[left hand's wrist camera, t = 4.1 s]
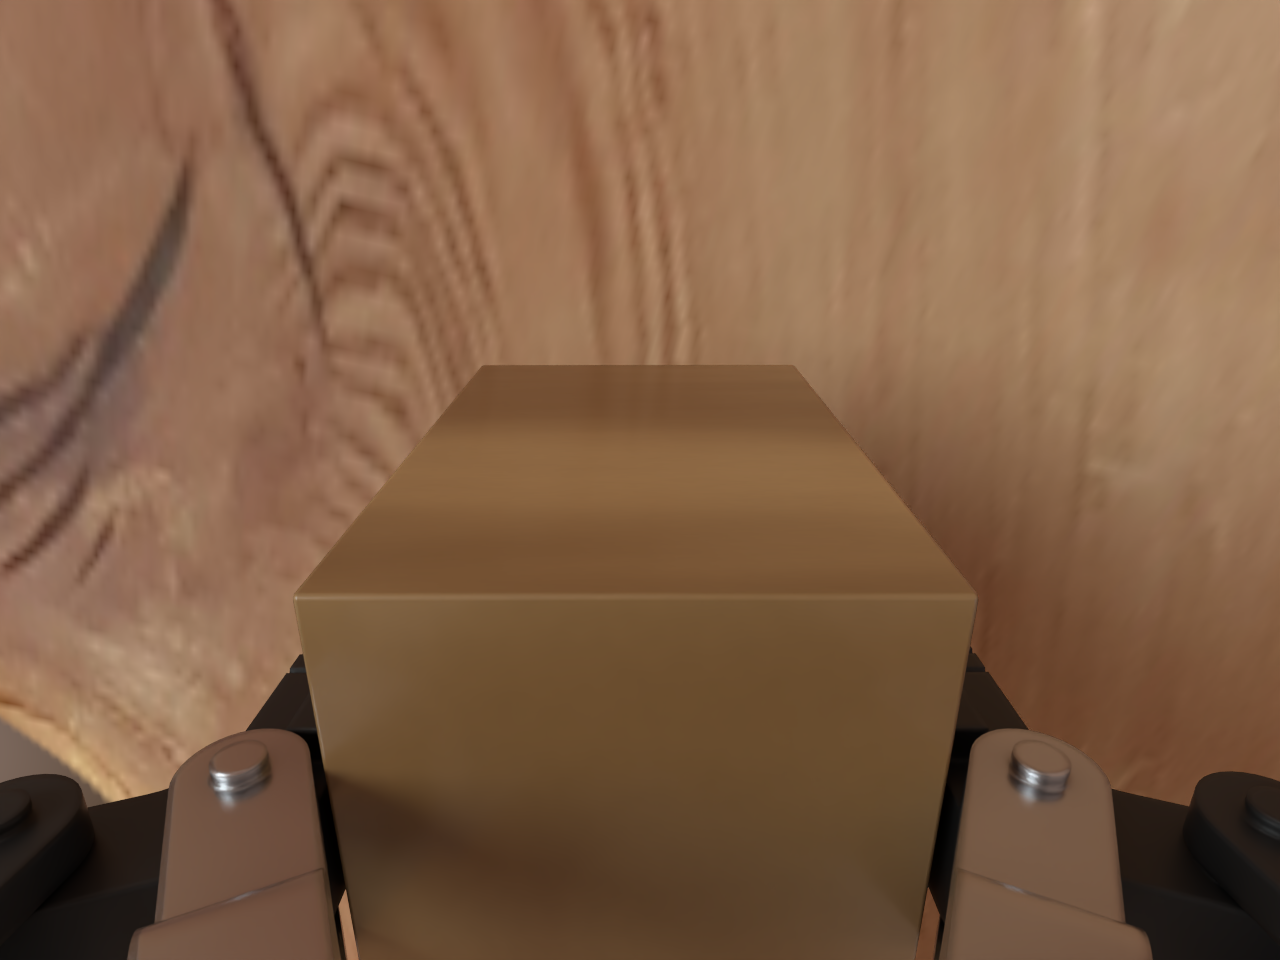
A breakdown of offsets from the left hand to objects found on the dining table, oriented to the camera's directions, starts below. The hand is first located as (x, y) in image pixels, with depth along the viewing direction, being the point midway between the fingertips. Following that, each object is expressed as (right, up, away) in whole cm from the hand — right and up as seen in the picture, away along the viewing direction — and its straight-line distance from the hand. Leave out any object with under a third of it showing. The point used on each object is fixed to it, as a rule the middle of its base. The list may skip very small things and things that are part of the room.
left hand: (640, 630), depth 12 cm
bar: (0, -6, +7) cm, 9 cm away
